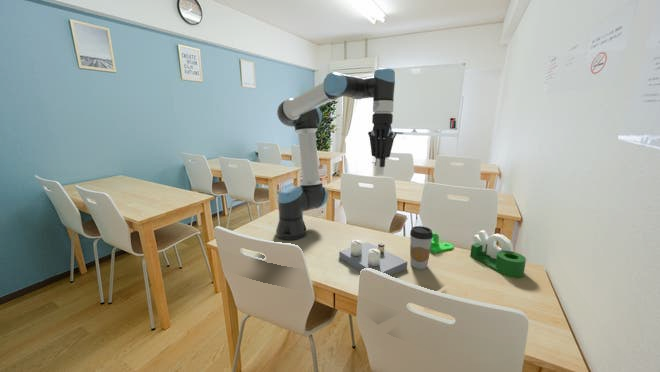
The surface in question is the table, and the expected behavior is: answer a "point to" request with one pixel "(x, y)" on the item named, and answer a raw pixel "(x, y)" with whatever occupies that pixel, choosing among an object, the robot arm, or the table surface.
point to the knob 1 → (356, 247)
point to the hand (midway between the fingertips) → (379, 174)
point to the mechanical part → (439, 245)
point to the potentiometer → (381, 248)
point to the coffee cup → (420, 246)
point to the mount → (387, 265)
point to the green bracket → (501, 261)
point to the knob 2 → (374, 257)
